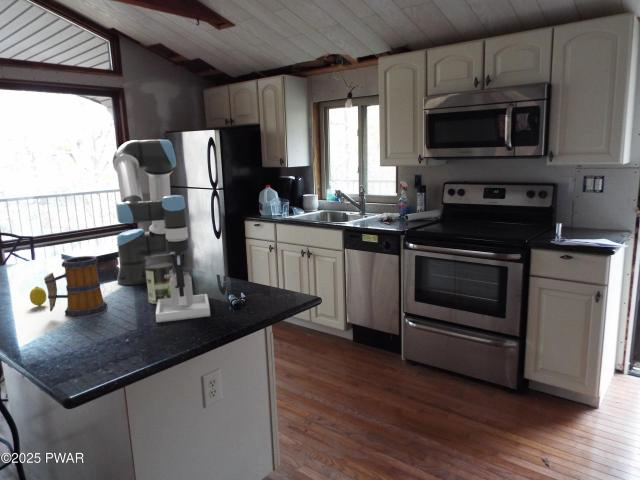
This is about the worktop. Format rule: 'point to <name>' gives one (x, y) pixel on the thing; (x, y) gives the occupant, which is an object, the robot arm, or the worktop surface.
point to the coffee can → (158, 281)
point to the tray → (182, 309)
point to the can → (187, 288)
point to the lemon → (37, 296)
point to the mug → (78, 288)
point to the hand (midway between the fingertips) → (182, 301)
